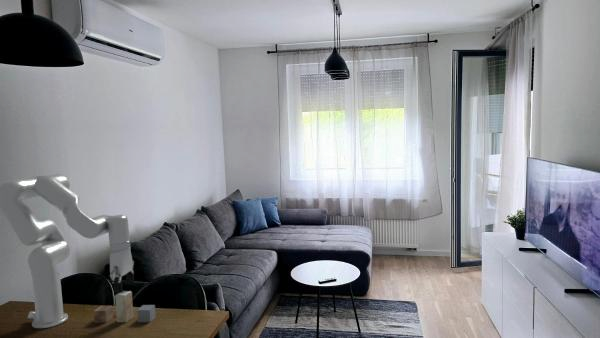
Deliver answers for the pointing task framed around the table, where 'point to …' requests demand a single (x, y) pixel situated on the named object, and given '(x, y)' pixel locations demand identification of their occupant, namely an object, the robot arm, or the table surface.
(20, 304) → the table surface
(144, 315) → the grey cube
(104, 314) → the tan cube
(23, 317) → the table surface
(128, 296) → the box
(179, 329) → the table surface
